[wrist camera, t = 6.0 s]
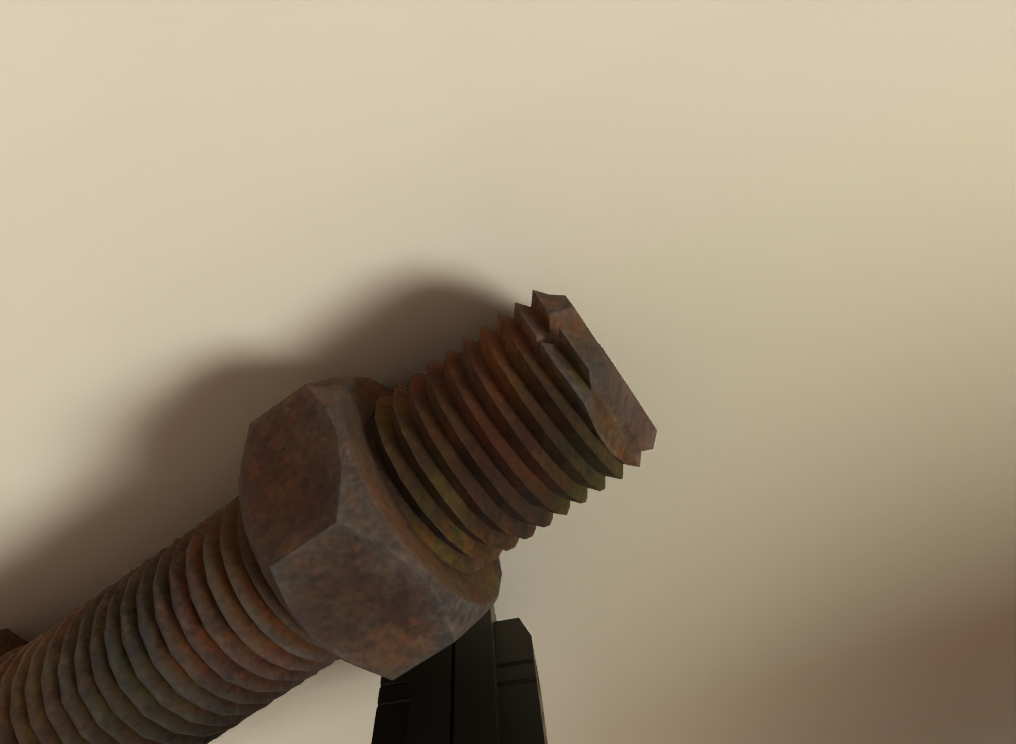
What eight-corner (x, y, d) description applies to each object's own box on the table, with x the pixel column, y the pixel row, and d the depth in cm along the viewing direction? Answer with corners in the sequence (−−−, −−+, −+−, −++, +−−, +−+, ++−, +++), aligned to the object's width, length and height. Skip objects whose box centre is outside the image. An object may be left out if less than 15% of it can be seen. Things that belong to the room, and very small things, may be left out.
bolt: (584, 328, 13) (79, 671, 15) (469, 156, 10) (-182, 643, 12) (748, 563, 10) (57, 975, 12) (668, 437, 6) (-338, 1081, 8)
